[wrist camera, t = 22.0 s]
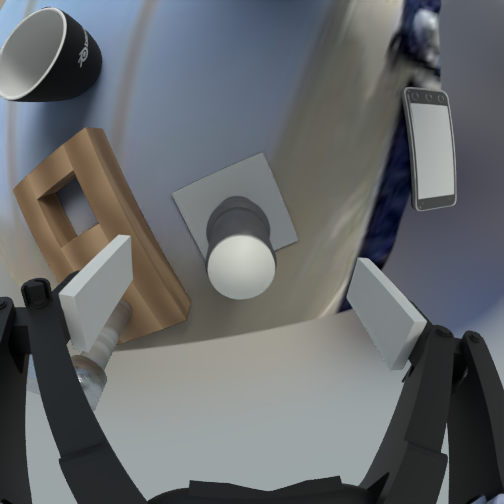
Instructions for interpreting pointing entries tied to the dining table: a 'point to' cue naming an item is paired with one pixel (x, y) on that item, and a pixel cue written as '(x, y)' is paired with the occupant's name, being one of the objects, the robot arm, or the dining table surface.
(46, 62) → the mug
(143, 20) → the dining table surface
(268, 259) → the plug
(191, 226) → the mat
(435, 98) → the smartphone
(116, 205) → the socket block
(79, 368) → the crank
